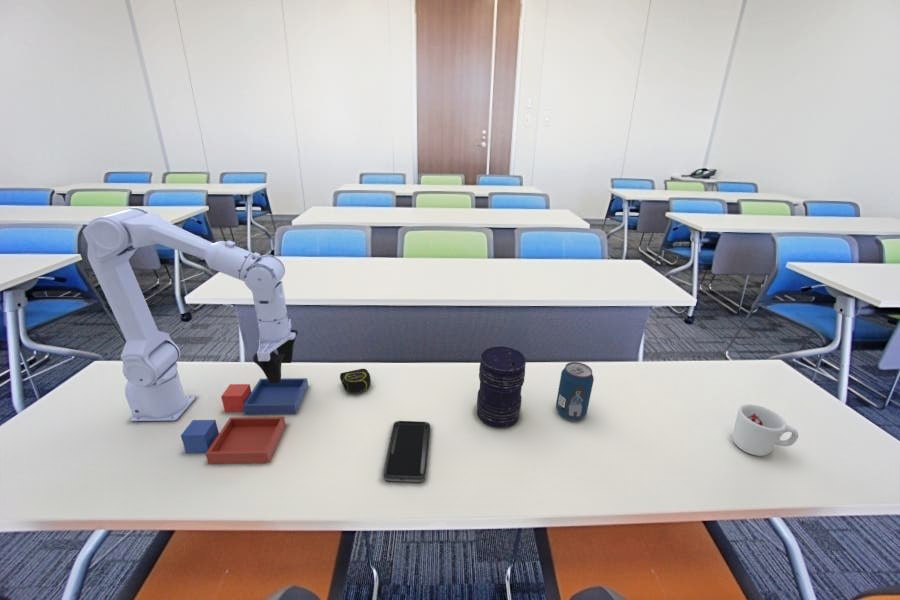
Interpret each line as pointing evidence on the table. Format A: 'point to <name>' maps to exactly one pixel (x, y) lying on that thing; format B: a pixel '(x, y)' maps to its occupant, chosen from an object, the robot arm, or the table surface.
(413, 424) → the phone
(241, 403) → the red block
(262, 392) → the blue tray
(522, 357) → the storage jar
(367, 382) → the tape measure
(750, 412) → the cup
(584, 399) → the soda can
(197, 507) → the table surface
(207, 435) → the blue block
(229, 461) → the red tray
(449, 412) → the table surface
